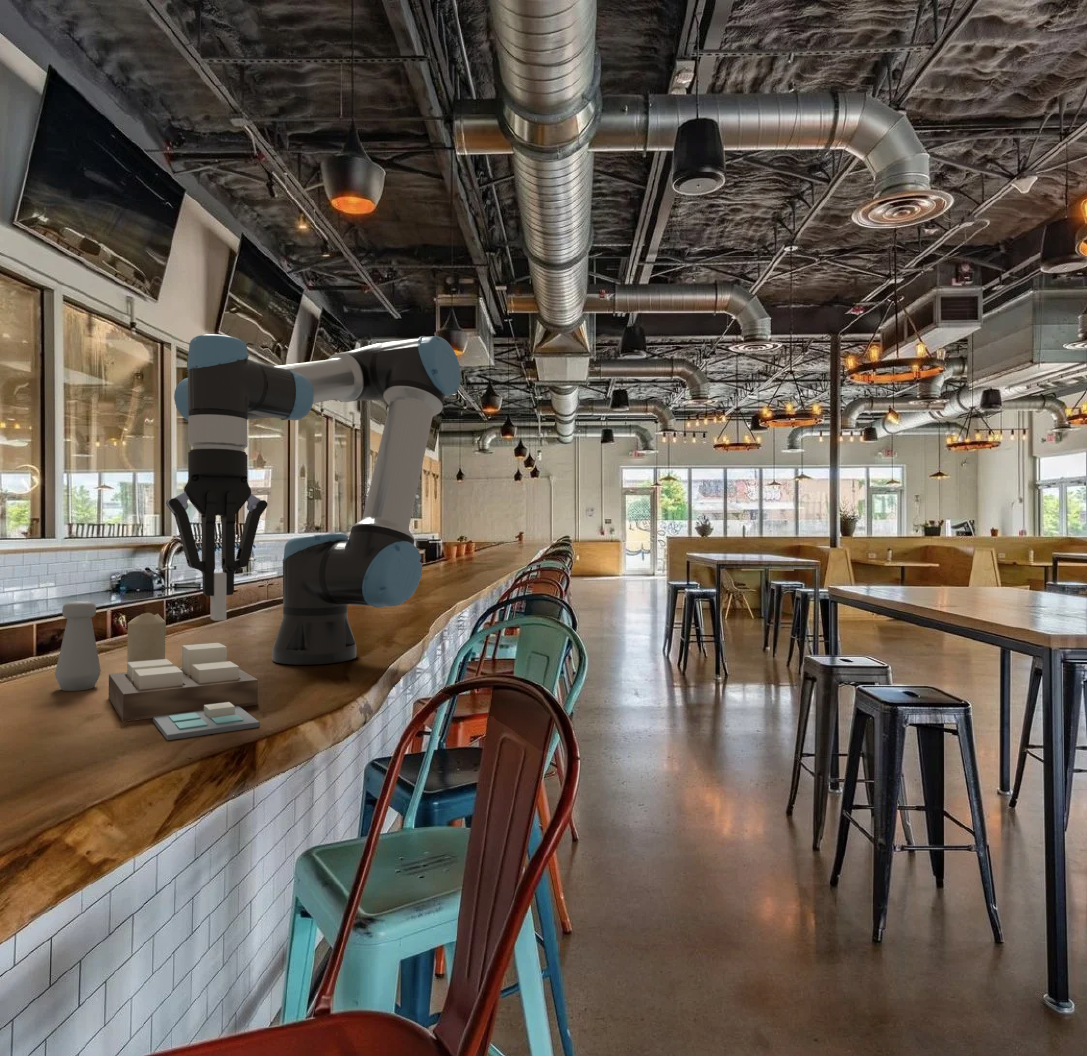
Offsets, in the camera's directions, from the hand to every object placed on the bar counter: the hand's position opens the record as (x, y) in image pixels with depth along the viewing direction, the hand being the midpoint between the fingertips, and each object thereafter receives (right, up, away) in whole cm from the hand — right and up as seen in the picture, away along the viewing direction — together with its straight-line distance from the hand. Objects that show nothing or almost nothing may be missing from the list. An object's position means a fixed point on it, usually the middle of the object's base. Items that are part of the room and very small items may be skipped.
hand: (218, 619), depth 99 cm
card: (+4, -11, -12) cm, 17 cm away
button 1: (-10, -10, +1) cm, 14 cm away
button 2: (-6, -10, -5) cm, 12 cm away
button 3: (0, -10, 0) cm, 10 cm away
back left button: (-4, -8, +5) cm, 11 cm away
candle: (-21, -12, +20) cm, 31 cm away
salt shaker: (-25, -12, +8) cm, 28 cm away
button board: (-5, -11, 0) cm, 13 cm away
